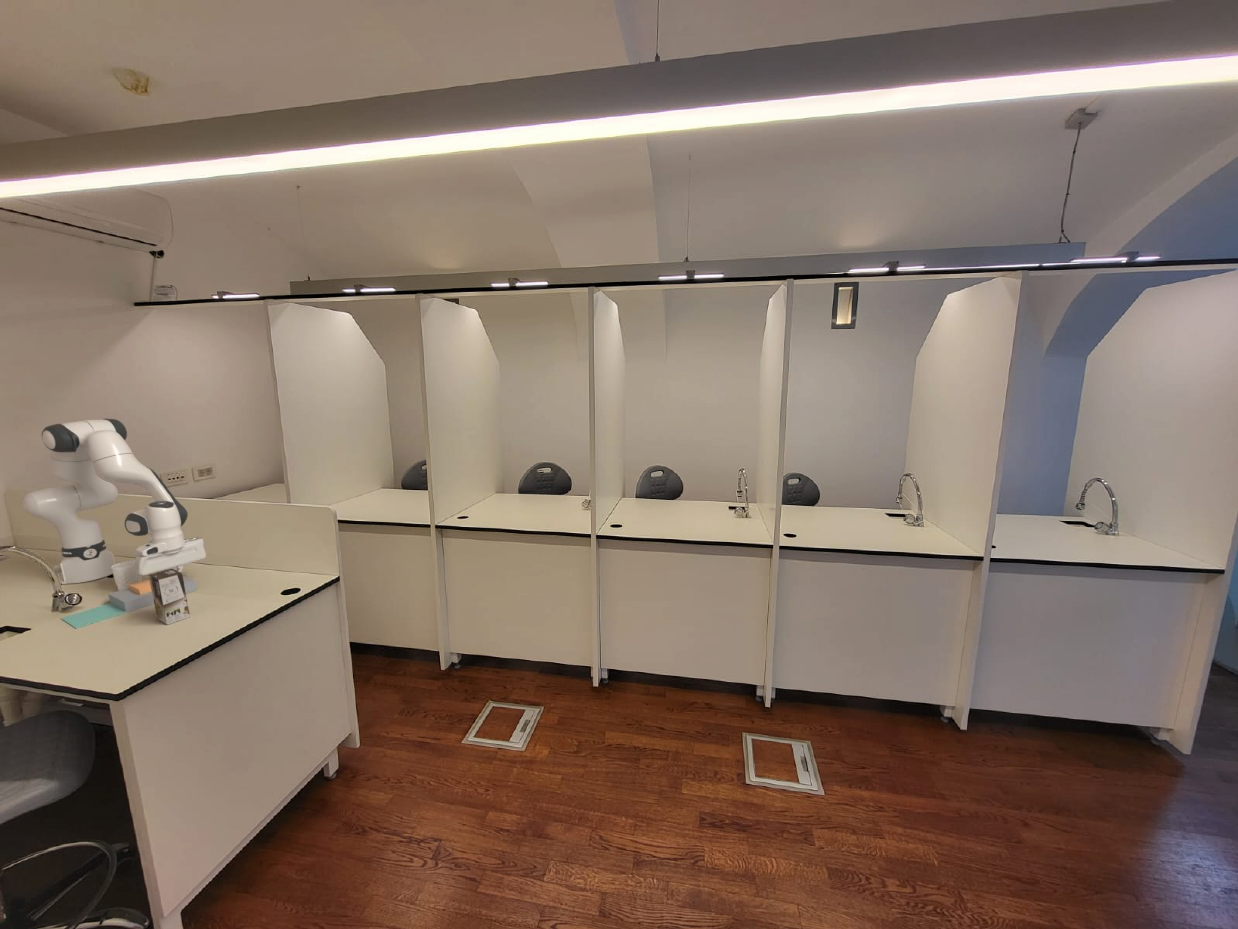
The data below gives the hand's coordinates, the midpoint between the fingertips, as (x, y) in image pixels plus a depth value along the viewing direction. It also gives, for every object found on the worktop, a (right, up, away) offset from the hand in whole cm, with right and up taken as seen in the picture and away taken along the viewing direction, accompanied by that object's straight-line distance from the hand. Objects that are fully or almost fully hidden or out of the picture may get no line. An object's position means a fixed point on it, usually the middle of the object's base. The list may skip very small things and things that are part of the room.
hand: (175, 577), depth 182 cm
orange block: (-4, -3, -7) cm, 9 cm away
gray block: (-3, -6, -5) cm, 8 cm away
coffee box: (+19, -9, -20) cm, 29 cm away
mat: (-10, -9, -19) cm, 23 cm away
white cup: (-20, -5, +3) cm, 21 cm away
